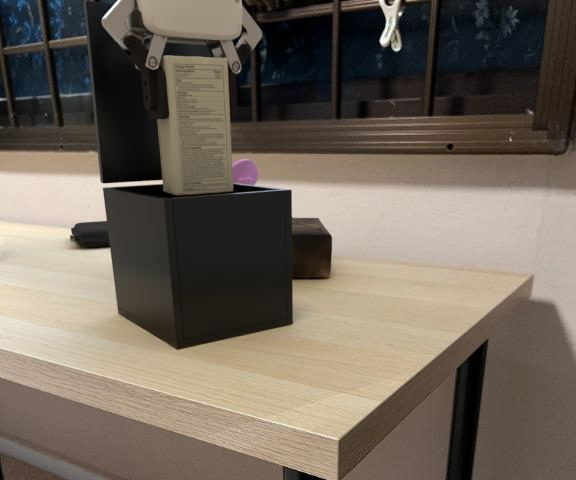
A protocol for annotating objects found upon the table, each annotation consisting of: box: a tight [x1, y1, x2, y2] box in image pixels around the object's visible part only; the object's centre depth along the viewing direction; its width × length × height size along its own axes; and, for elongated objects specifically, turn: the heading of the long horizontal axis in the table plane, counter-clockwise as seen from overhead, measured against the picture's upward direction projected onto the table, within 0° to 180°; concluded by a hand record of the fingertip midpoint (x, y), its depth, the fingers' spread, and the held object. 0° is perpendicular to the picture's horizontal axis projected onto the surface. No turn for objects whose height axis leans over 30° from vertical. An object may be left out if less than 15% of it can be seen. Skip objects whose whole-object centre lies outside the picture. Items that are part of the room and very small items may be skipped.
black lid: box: [83, 0, 212, 184], centre depth 66 cm, size 16×14×6 cm
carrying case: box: [69, 220, 110, 248], centre depth 114 cm, size 11×3×15 cm
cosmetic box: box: [157, 55, 233, 196], centre depth 59 cm, size 6×4×12 cm
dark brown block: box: [292, 217, 333, 279], centre depth 91 cm, size 8×19×7 cm, turn 2°
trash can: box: [102, 183, 294, 350], centre depth 65 cm, size 16×14×14 cm
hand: (192, 117), depth 59 cm, fingers closed on cosmetic box, 6 cm apart
